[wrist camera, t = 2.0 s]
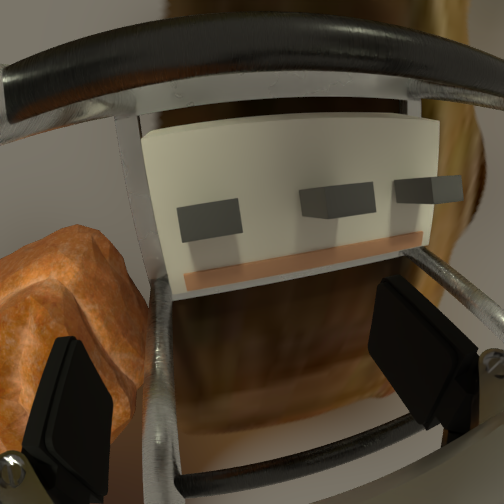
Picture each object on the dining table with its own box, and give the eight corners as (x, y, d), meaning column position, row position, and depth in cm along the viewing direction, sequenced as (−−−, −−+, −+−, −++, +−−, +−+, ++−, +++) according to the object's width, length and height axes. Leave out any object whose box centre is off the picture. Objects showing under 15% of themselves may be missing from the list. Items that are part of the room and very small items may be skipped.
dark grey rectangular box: (298, 189, 19) (324, 186, 15) (340, 185, 19) (373, 181, 15) (302, 216, 19) (328, 219, 15) (343, 210, 20) (376, 212, 16)
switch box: (151, 130, 21) (140, 139, 16) (393, 113, 24) (441, 121, 19) (172, 253, 26) (172, 296, 20) (389, 218, 29) (429, 245, 23)
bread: (169, 333, 29) (177, 483, 16) (-5, 384, 28) (-36, 482, 14) (99, 202, 23) (18, 331, 9) (-70, 298, 21) (-131, 390, 8)
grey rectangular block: (180, 207, 18) (176, 207, 14) (229, 199, 18) (237, 197, 14) (185, 235, 18) (182, 243, 14) (233, 226, 19) (243, 232, 15)
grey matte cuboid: (393, 179, 20) (430, 177, 16) (423, 177, 20) (460, 175, 16) (396, 203, 20) (433, 204, 16) (425, 199, 21) (463, 200, 17)
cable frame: (112, 88, 19) (-82, 71, 2) (412, 75, 23) (611, 106, 6) (154, 296, 27) (154, 518, 10) (404, 248, 31) (538, 368, 14)
